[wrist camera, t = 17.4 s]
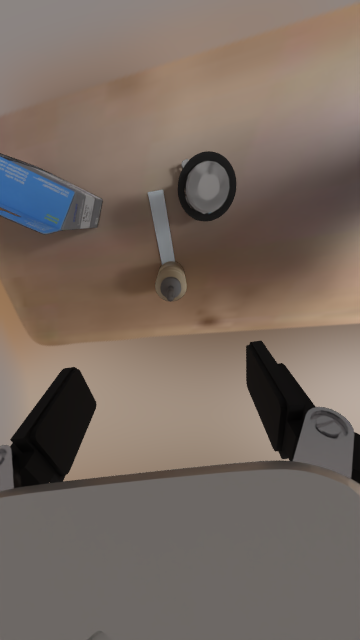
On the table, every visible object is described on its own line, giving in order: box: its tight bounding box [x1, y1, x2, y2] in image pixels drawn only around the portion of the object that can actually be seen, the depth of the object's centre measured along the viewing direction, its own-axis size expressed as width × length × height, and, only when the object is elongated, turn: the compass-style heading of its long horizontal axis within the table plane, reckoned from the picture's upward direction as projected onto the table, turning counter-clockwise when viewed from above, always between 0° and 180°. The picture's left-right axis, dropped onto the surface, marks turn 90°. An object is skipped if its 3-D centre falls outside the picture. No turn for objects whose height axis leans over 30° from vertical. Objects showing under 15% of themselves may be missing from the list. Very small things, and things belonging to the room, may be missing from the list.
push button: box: [178, 152, 236, 221], centre depth 21 cm, size 7×5×10 cm
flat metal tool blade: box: [148, 190, 175, 265], centre depth 29 cm, size 2×13×1 cm, turn 9°
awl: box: [155, 261, 187, 301], centre depth 26 cm, size 4×4×10 cm
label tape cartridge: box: [0, 153, 103, 235], centre depth 20 cm, size 9×4×12 cm, turn 66°
